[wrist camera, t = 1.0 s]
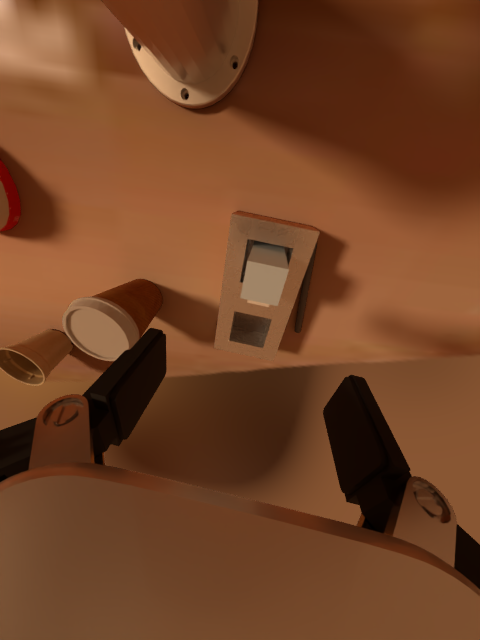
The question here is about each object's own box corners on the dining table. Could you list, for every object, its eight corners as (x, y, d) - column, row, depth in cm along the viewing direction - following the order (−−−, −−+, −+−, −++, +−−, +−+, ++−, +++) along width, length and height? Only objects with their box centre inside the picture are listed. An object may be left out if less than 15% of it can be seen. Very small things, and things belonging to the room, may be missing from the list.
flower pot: (36, 314, 42) (-13, 340, 34) (82, 334, 43) (43, 363, 36) (39, 344, 47) (-4, 372, 39) (80, 361, 48) (45, 392, 41)
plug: (254, 240, 28) (247, 260, 19) (283, 246, 27) (289, 269, 19) (248, 272, 30) (239, 303, 22) (274, 278, 30) (276, 311, 22)
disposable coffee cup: (173, 322, 38) (138, 369, 28) (125, 314, 39) (73, 357, 28) (169, 273, 33) (124, 309, 23) (113, 265, 33) (45, 296, 23)
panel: (237, 210, 27) (231, 213, 23) (312, 225, 27) (320, 232, 22) (220, 330, 38) (213, 348, 33) (273, 342, 37) (273, 361, 33)
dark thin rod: (309, 239, 28) (310, 241, 27) (317, 239, 27) (318, 241, 27) (294, 330, 35) (294, 333, 35) (299, 330, 35) (300, 334, 34)
